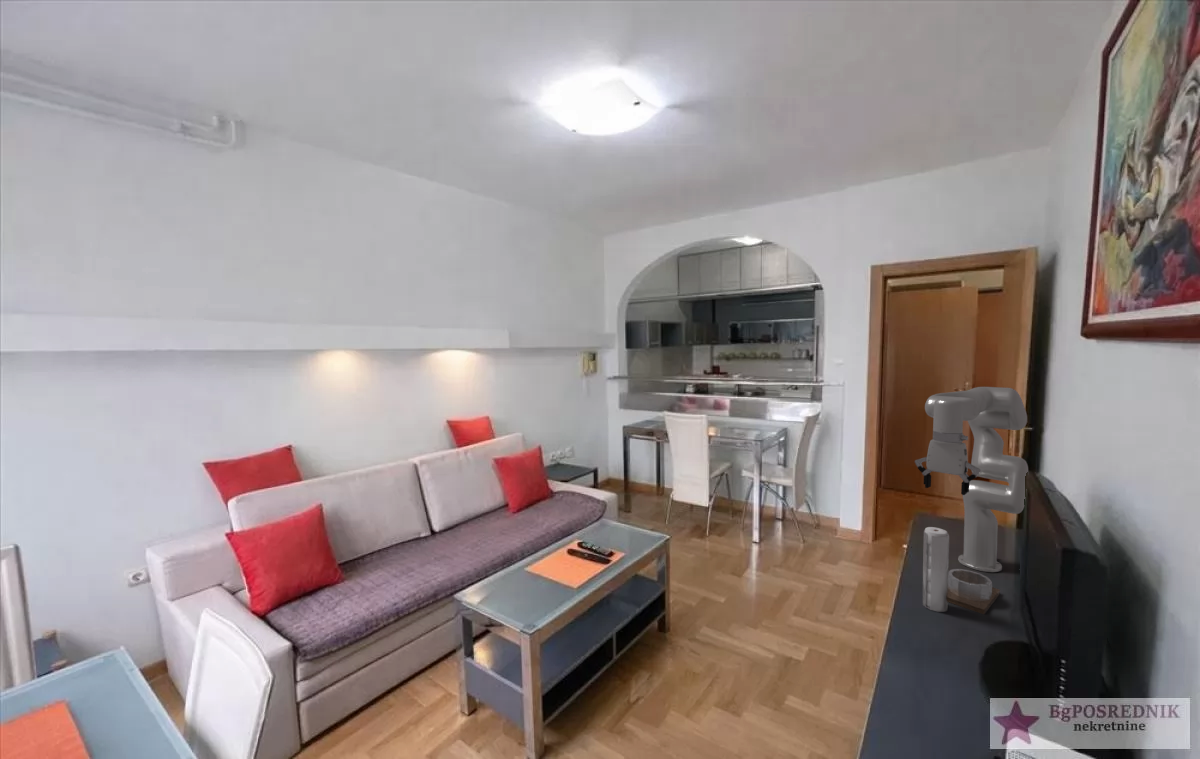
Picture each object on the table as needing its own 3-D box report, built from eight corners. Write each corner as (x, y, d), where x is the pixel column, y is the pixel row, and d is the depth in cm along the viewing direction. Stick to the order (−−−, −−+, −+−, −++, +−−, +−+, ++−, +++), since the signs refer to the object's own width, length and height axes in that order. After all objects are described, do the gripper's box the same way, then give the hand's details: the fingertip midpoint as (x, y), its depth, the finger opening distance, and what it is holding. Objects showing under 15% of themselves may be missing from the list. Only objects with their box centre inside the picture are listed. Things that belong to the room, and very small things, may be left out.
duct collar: (955, 580, 163) (956, 562, 162) (999, 594, 153) (1000, 575, 153) (937, 598, 152) (938, 579, 151) (984, 614, 142) (984, 594, 142)
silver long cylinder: (951, 613, 143) (953, 534, 142) (928, 611, 145) (929, 533, 143) (941, 601, 150) (942, 526, 148) (918, 600, 151) (919, 525, 149)
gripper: (985, 440, 143) (983, 494, 144) (920, 432, 157) (918, 482, 158) (978, 442, 138) (975, 499, 139) (911, 435, 152) (910, 486, 153)
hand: (945, 490), depth 148 cm, fingers open, 9 cm apart
